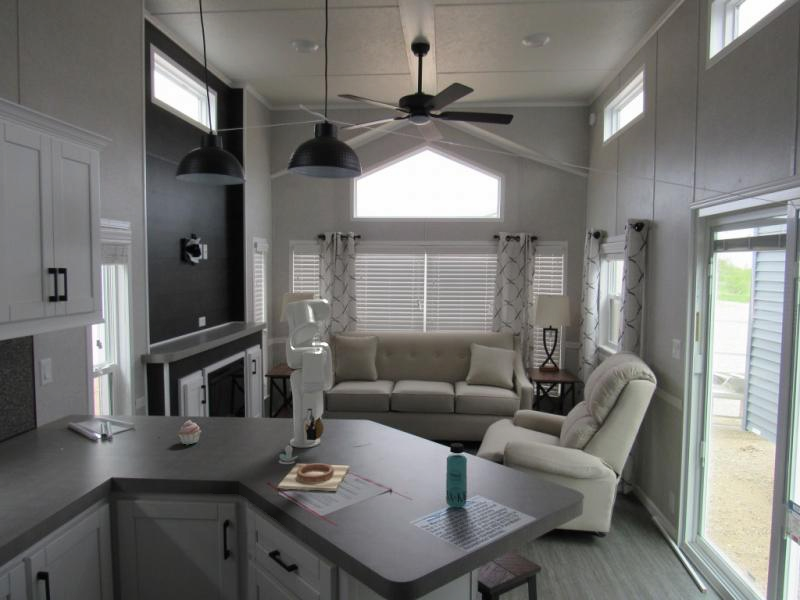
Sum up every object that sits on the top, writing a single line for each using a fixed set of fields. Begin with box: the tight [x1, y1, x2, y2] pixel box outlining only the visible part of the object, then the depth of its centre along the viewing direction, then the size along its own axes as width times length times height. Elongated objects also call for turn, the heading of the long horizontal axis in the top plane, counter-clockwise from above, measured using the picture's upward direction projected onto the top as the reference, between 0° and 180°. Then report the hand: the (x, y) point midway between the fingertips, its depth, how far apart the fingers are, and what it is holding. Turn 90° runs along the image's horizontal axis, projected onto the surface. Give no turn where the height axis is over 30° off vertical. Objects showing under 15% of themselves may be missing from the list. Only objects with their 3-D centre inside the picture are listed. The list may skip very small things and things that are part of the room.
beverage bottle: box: [445, 442, 468, 508], centre depth 166 cm, size 6×7×20 cm
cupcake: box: [177, 419, 202, 445], centre depth 229 cm, size 9×9×10 cm
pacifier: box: [278, 444, 299, 465], centre depth 206 cm, size 7×6×6 cm
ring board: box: [277, 462, 351, 492], centre depth 190 cm, size 20×20×3 cm
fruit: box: [305, 418, 324, 439], centre depth 189 cm, size 6×6×8 cm
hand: (314, 436), depth 189 cm, fingers closed on fruit, 6 cm apart
